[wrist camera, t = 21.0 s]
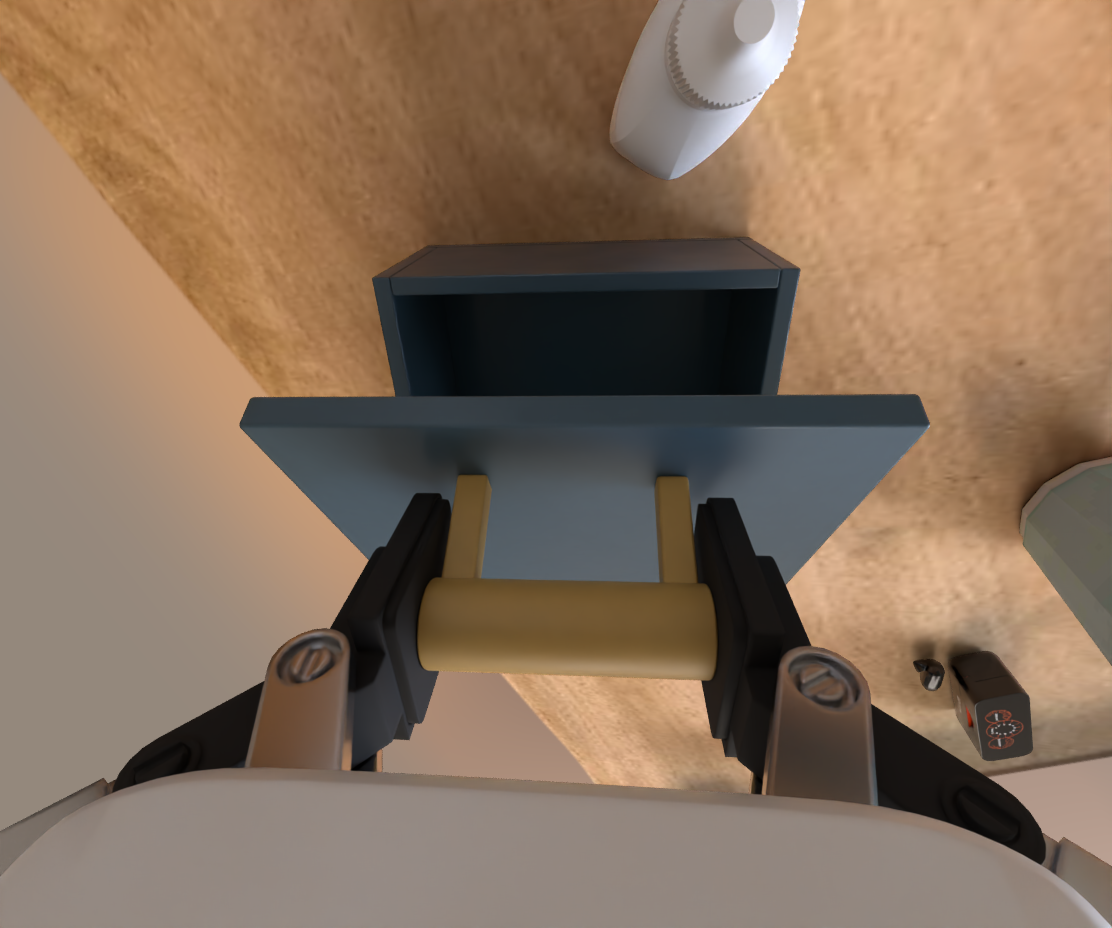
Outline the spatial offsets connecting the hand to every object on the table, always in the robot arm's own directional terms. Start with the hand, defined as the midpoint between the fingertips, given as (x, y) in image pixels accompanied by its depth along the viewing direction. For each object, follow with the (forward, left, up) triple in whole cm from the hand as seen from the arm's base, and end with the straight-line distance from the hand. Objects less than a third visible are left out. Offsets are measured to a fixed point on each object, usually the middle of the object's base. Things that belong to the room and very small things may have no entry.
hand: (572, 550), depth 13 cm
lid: (+3, 0, -4) cm, 5 cm away
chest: (+3, 0, -15) cm, 15 cm away
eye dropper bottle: (-10, +3, -15) cm, 18 cm away
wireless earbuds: (+22, +24, -15) cm, 36 cm away
